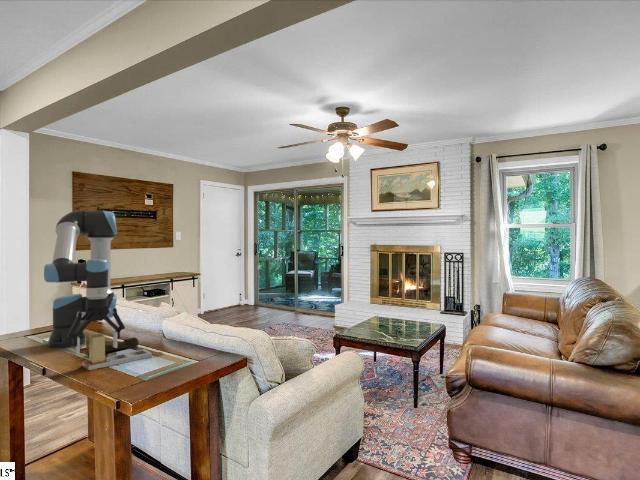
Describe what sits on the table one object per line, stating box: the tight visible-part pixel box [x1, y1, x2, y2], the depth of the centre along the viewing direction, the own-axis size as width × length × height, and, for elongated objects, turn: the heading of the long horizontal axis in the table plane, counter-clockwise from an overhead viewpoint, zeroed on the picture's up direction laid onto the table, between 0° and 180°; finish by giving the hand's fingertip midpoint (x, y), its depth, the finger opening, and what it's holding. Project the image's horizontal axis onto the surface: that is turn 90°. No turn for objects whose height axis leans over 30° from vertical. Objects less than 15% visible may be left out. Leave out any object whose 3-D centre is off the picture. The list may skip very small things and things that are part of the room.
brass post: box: [88, 333, 106, 364], centre depth 149 cm, size 4×4×12 cm
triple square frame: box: [82, 349, 153, 371], centre depth 155 cm, size 8×24×2 cm, turn 137°
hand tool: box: [105, 337, 140, 354], centre depth 170 cm, size 19×4×5 cm, turn 138°
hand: (97, 350), depth 149 cm, fingers open, 13 cm apart
